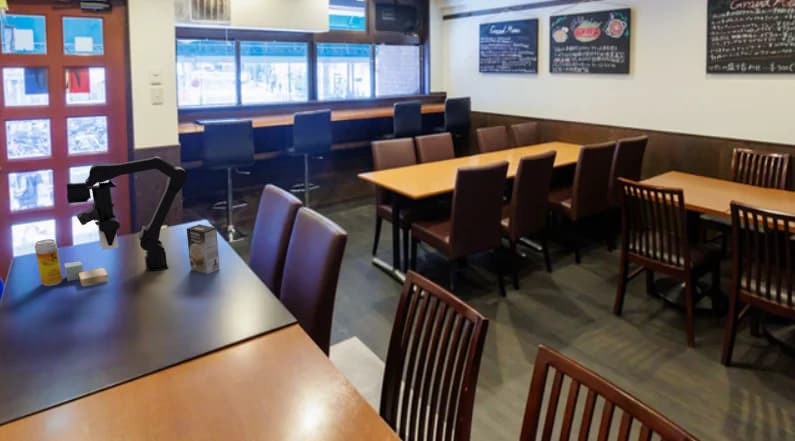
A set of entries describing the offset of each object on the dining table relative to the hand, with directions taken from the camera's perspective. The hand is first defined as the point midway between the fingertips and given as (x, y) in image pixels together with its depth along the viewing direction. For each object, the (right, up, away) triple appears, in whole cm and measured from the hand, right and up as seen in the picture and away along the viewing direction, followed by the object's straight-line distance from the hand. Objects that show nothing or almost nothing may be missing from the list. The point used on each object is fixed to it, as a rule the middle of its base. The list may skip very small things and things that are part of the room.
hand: (109, 243), depth 190 cm
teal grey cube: (-12, -12, 0) cm, 17 cm away
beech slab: (-4, -13, -3) cm, 14 cm away
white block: (0, -1, 0) cm, 1 cm away
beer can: (-16, -14, -6) cm, 22 cm away
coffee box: (+31, -10, +8) cm, 34 cm away
